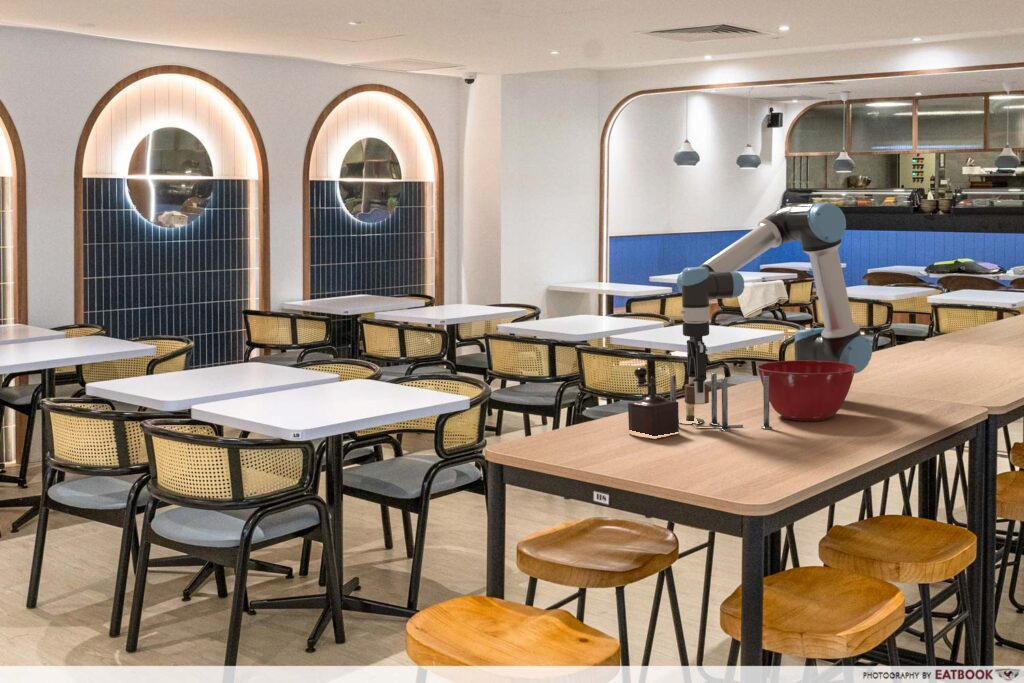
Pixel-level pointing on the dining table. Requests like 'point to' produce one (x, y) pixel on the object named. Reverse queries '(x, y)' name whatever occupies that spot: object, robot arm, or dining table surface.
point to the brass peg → (691, 413)
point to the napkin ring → (691, 393)
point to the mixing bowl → (807, 387)
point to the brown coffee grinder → (652, 411)
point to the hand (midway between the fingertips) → (697, 401)
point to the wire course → (725, 401)
